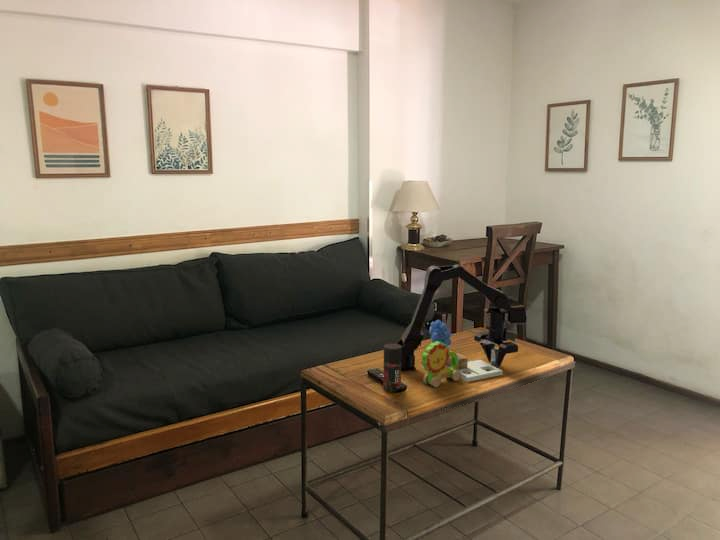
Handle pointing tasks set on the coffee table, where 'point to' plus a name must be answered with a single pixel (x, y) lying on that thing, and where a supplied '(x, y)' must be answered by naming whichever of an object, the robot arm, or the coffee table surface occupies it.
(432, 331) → the grapes
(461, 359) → the brown wooden block
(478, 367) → the board
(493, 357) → the pin
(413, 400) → the coffee table surface
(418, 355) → the coffee table surface
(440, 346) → the toy lion
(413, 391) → the coffee table surface
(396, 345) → the deodorant
